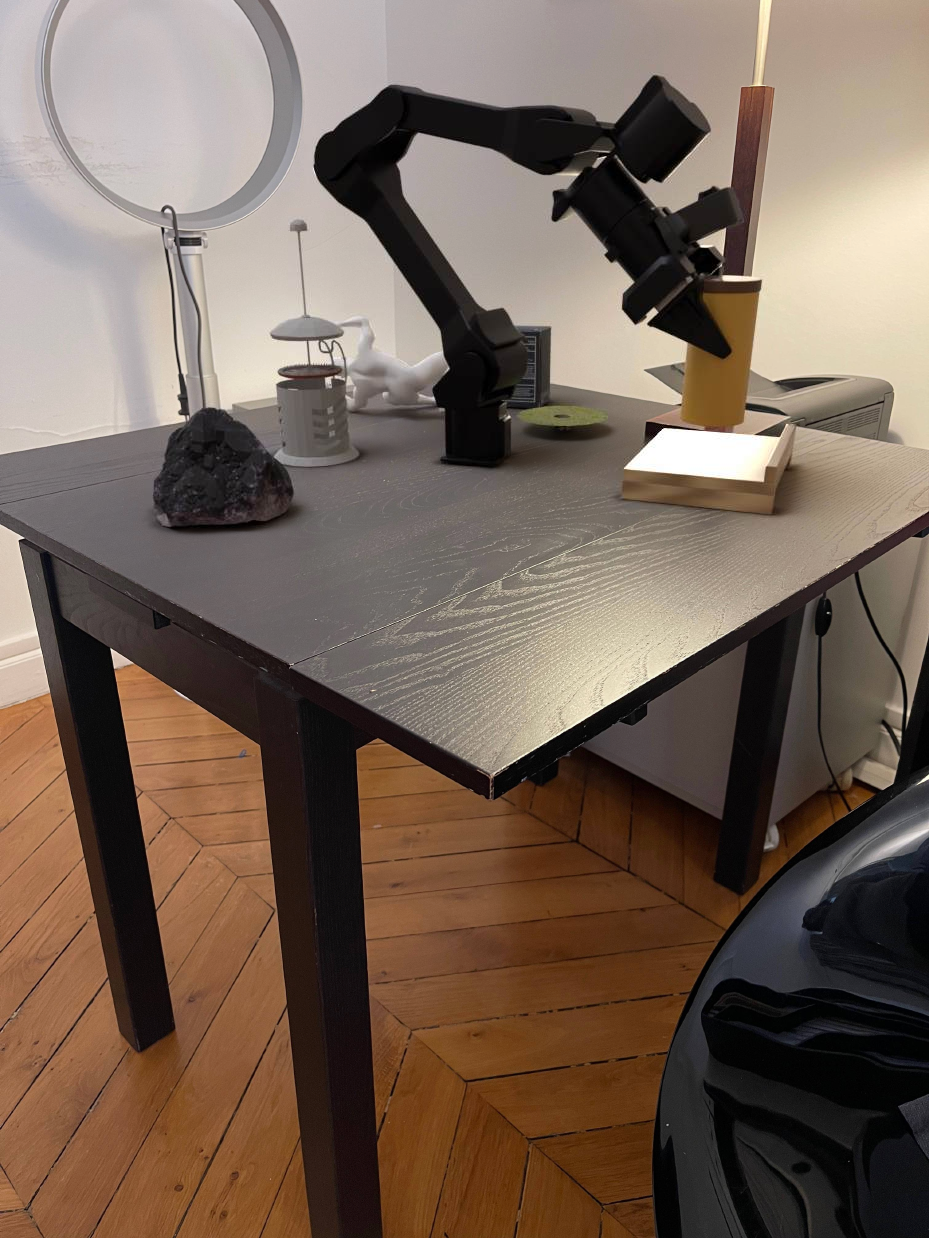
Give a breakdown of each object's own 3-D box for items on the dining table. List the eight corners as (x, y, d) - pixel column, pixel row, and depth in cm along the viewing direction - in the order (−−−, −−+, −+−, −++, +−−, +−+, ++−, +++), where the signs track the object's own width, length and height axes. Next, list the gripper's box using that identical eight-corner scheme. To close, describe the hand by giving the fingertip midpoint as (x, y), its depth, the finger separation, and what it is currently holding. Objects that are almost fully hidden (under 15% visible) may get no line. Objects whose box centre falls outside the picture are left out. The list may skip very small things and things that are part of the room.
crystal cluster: (243, 548, 81) (244, 434, 77) (114, 520, 85) (109, 410, 81) (317, 514, 93) (320, 414, 89) (200, 491, 96) (199, 394, 93)
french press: (256, 462, 104) (230, 220, 94) (309, 439, 114) (291, 217, 104) (333, 470, 101) (314, 220, 91) (381, 445, 111) (369, 217, 100)
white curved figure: (458, 323, 128) (330, 305, 122) (484, 358, 119) (345, 340, 113) (439, 411, 135) (317, 398, 129) (462, 450, 126) (330, 438, 120)
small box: (551, 400, 133) (553, 324, 129) (540, 410, 128) (541, 330, 123) (481, 397, 136) (481, 322, 132) (467, 405, 131) (466, 328, 126)
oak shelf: (621, 498, 90) (623, 453, 88) (661, 454, 105) (664, 414, 103) (771, 515, 85) (777, 467, 83) (790, 465, 100) (796, 424, 98)
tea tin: (704, 429, 87) (720, 282, 81) (666, 416, 92) (678, 276, 86) (758, 423, 89) (776, 279, 83) (718, 410, 94) (733, 274, 89)
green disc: (621, 426, 118) (622, 410, 117) (582, 445, 110) (583, 428, 109) (543, 416, 124) (543, 402, 123) (500, 434, 115) (500, 418, 114)
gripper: (670, 149, 74) (795, 299, 75) (713, 155, 90) (816, 279, 90) (572, 253, 81) (687, 390, 81) (628, 242, 96) (725, 358, 97)
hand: (733, 350), depth 87 cm, fingers closed on tea tin, 6 cm apart
